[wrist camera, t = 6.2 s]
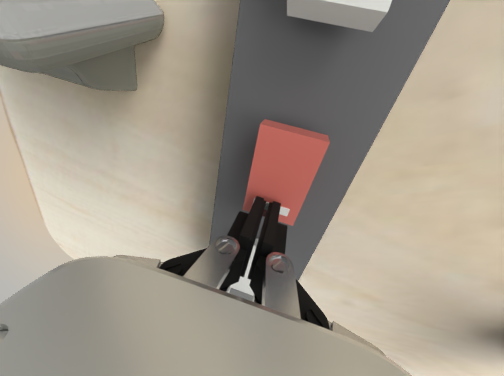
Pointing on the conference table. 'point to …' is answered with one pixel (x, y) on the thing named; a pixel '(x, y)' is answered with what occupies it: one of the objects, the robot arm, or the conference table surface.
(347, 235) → the conference table surface
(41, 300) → the robot arm
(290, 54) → the power strip
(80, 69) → the digital clock
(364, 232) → the conference table surface
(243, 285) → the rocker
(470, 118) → the conference table surface
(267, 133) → the rocker middle
